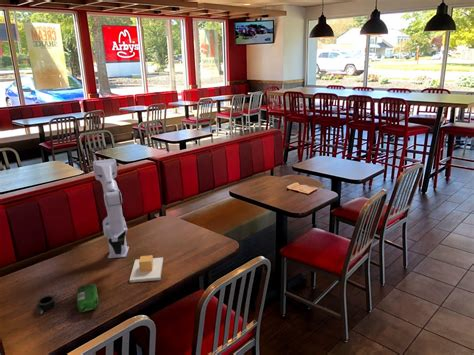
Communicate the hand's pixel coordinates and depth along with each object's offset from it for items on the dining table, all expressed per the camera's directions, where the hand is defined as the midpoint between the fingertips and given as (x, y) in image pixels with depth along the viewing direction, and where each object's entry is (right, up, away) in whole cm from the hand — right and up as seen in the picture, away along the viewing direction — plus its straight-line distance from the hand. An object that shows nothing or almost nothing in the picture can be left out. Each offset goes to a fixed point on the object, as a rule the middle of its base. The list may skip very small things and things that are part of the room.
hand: (120, 249), depth 160 cm
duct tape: (-20, -17, -20) cm, 33 cm away
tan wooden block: (+11, -8, +1) cm, 14 cm away
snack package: (-5, -17, -19) cm, 26 cm away
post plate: (+11, -9, +1) cm, 14 cm away
